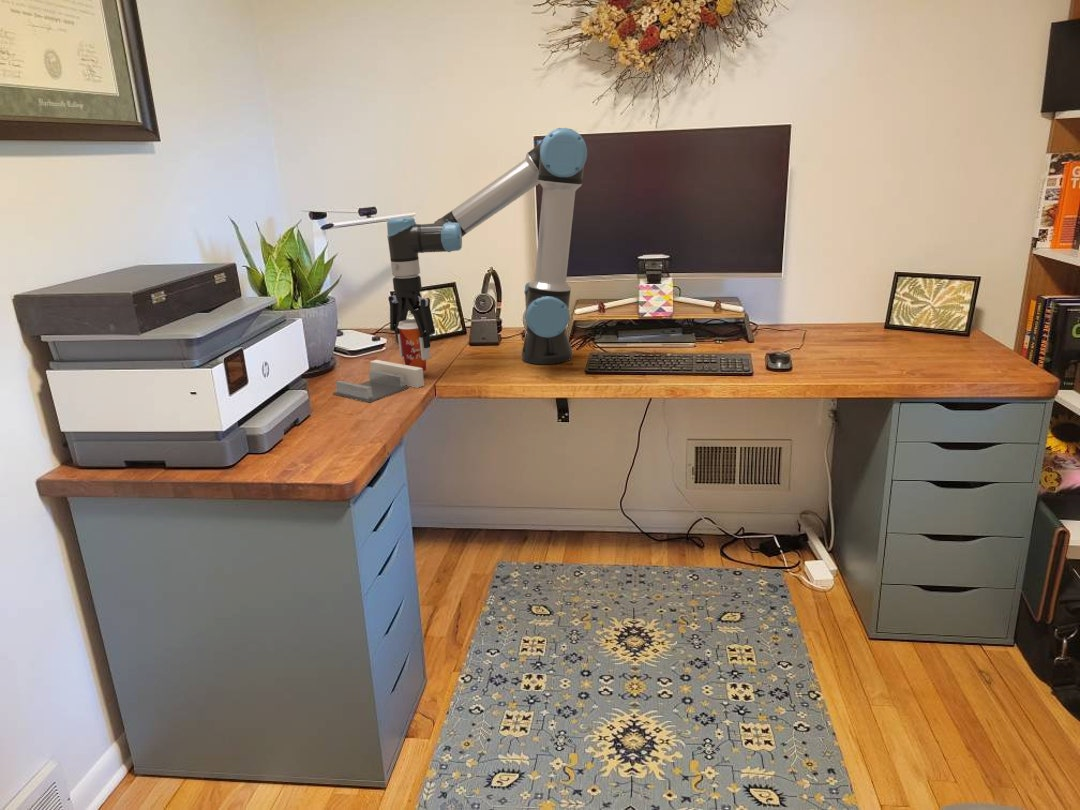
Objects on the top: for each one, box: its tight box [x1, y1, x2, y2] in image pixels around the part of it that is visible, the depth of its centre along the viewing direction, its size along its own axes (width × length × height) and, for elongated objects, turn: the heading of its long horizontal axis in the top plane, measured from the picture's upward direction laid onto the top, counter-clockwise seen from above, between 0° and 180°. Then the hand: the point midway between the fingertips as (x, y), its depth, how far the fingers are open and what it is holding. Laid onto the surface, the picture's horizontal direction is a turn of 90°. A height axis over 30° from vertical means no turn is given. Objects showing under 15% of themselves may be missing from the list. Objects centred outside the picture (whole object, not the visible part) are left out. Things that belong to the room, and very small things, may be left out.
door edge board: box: [369, 359, 425, 389], centre depth 211 cm, size 18×2×5 cm, turn 54°
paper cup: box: [398, 318, 427, 372], centre depth 214 cm, size 8×8×14 cm
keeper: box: [332, 369, 410, 403], centre depth 204 cm, size 14×14×4 cm
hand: (415, 357), depth 215 cm, fingers closed on paper cup, 8 cm apart
